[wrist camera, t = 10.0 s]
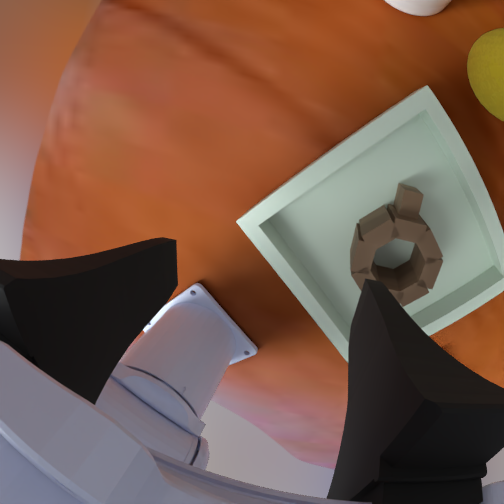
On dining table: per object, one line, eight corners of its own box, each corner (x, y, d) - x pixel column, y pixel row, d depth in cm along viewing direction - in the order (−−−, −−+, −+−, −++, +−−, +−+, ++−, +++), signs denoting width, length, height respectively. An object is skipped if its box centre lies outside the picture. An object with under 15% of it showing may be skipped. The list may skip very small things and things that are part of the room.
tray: (354, 349, 23) (354, 370, 21) (247, 210, 21) (235, 221, 19) (503, 265, 16) (517, 280, 14) (416, 89, 14) (427, 85, 12)
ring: (414, 288, 19) (422, 312, 16) (343, 272, 20) (343, 295, 17) (444, 196, 16) (460, 208, 13) (366, 175, 17) (371, 184, 14)
